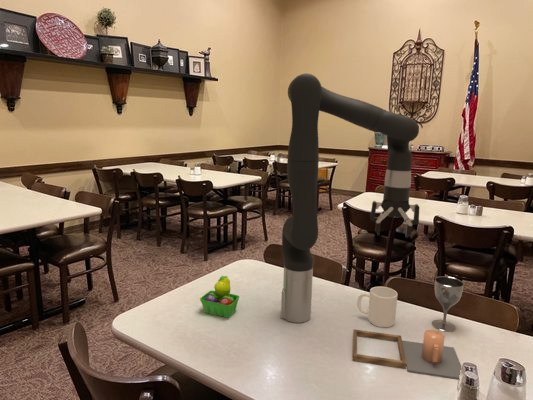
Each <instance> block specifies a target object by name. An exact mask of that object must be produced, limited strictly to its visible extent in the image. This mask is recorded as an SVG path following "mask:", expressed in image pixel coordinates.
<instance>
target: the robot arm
mask: <svg viewBox="0 0 533 400" xmlns="http://www.w3.org/2000/svg"><path fill="white" fill-rule="evenodd" d="M287 96H288V99H289V101H290V105H291V121H292V122H291V132H290V136H289V143H288V148H287V149H288V150H287V157H286V158H287V162H286V165H287V166H286V167H287V168H286V172H287V173H286V174H287V181H288V186H289V191H290V195H291V199H292V206H293V207H292V210H293V211H292V215H291V216H289V217H288V218H286V220H285V221H284V223H283V226H282V230H281V231H282V233H281V235H282V236H281V237H282V238H281V245H282V246H281V247H282V249H281V252H282V257H283V258H282V259H283V284H282V286H283V288H282V289H281V306H280V309H281V310H280V319H284V320H285V321H288V322H290V323H295V324H300V323H305V322H308V321H310V319H311V316H312V315H311V314H312V297H313V296H312V295H313V275H314V273H313V272H314V258H313V256H312V253H311V249H312V248H313V247H314V246H315V245H316V243H317V241H318V237H319V224H318V223H319V222H318V207H317V204H318V203H317V200H318V198H317V197H318V183H319V182H318V181H319V180H318V179H319V159H320V157H319V156H320V155H319V152H320V151H319V129H318V128H319V116H320V112H321V113H325V114H326V113H327V114H328V115H332V116H334V117H337V118H339V119H341V120H344V121H346V122H349V123H350V124H352V125H353V124H354V125H355V126H358V127H360V128H362V129H366V130H368V131H370V132H374V133H379V134H382V135H385V136H386V144H387V145H386V146H387V153H388V156H387V165H386V171H385V176H384V186H383V198H382V199H383V200H382V201H381V202H378V201H376V200H373V201H372V203H371V210H370V221H371V222H374V223H375V229H374V230H375V231H374V233H376V234H377V236H380V235H381V224H382V223H381V222H382V221H383V220H384V219H385V218H386V217H389V218H397V219H398V218H399V219H400V218H403V220H404V221H405V222H406V226H405V227H406V228H405V238H409V237H410V236H411V235H412V231H413V230H412V228H413V226H414V225H419V223H420V222H419V221H420V206H419V204H417V203H415V204H410V196H411V195H410V194H411V193H410V192H411V185H412V167H413V166H412V164H413V153H412V151H410V142H412V141H414V140H415V139H416V138H417V137H418V136H419V133H420V128H419V124H418V122H416V120H414V119H413V118H411V117H408V116H405V115H402V114H398V113H395V112H392V111H388V110H386V109H385V108H381V107H379V106H377V105H374V104H373V103H369V102H366V101H363V100H360V99H356V98H352V97H349V96H345V95H342V94H339V93H336V92H334V91H332V90H330V89H328V88H325V87H324V86H322V84H321V82H320V80H319V78H318V77H316V76H315V75H314V74H312V73H302V74H300V75H297V76H296V77H294V78H293V79H292V81H290V83H289V85H288V87H287ZM380 207H381V208H382V211H381V213H380V214H379V215H378V216H376V212H377V210H379V208H380ZM409 210H411V211H412V212H413V219H412V220H411V219H410V218H409V216H408V215H407V212H408V211H409Z"/></svg>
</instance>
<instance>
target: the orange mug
mask: <svg viewBox="0 0 533 400" xmlns="http://www.w3.org/2000/svg"><path fill="white" fill-rule="evenodd" d="M445 338H446V337H445V334H444V333H442V331H441V332H440V330H437V329H426V330H425V331H424V332H423V341H422V343H423V348H422V358H423V359H424V360H425V361H427V362H429V363H432V364H439V363H441V361H442V354H443V346H445V345H444V343H445Z"/></svg>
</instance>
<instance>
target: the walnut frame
mask: <svg viewBox="0 0 533 400" xmlns="http://www.w3.org/2000/svg"><path fill="white" fill-rule="evenodd" d="M352 333H353V335H352V361H353V362H358V363H359V362H360V363H366V364H372V365H379V366H387V367H392V368H399V369H405V370H407V367H406V365H407V363H406V358H405V353H404V348H403V343H402V340H403V338H402V335H400V334H392V333H391V334H390V333H385V332H377V331H368V330H362V329H361V330H360V329H355V328H354V329H353V331H352ZM358 337H360V338H367V337H368V338H369V339H374V338H375V339H376V340H383V341H389V342H395V343H396V342H397V347H398V353H399V359H400V360H399V359H391V358H386V357H380V356H373V355H365V354H358ZM375 339H374V340H375Z"/></svg>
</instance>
